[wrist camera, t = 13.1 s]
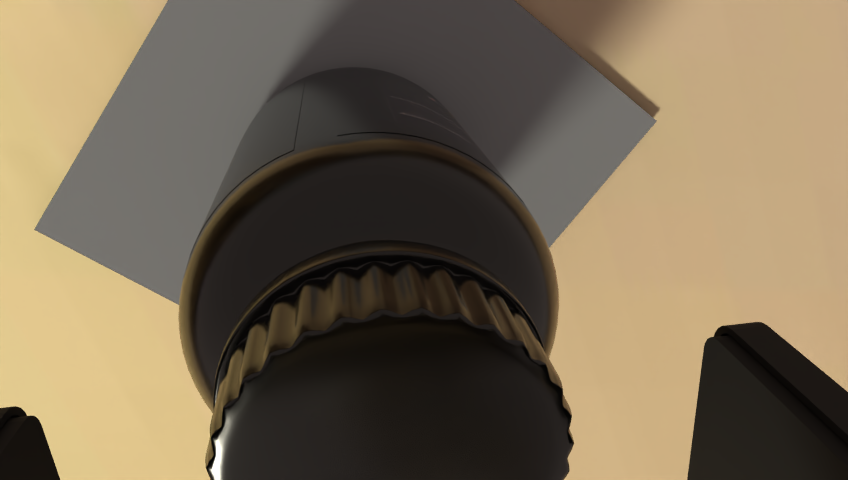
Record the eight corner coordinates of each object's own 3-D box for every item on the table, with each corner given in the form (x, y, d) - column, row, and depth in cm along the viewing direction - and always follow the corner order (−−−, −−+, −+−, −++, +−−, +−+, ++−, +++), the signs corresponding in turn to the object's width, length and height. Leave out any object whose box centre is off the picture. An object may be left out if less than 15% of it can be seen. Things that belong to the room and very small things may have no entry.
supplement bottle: (364, 323, 21) (396, 715, 10) (187, 189, 19) (-18, 517, 8) (519, 172, 20) (746, 442, 9) (349, 5, 17) (373, 94, 6)
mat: (652, 118, 20) (656, 121, 20) (401, 415, 23) (402, 420, 23) (283, -194, 16) (282, -196, 15) (38, 225, 19) (34, 229, 19)
